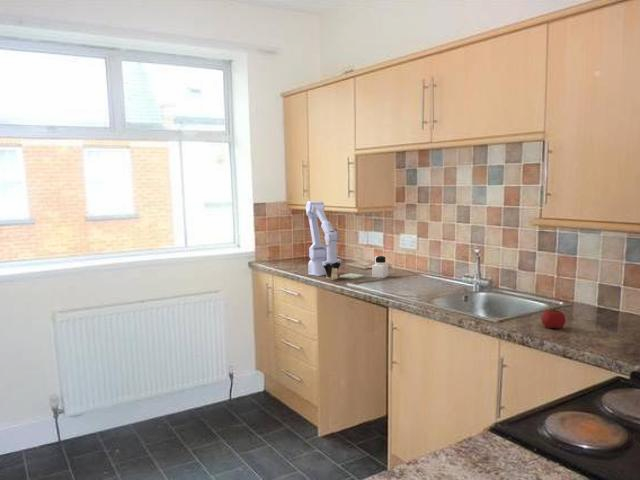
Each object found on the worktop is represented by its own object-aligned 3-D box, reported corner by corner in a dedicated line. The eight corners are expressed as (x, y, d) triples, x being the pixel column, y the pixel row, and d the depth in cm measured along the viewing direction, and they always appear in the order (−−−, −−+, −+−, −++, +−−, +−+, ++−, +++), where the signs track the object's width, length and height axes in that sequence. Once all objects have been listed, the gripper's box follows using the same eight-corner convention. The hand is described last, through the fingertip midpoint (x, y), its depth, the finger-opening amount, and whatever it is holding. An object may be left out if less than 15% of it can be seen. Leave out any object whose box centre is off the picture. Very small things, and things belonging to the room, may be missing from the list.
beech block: (326, 278, 286) (326, 268, 285) (331, 277, 289) (331, 267, 289) (332, 279, 283) (332, 269, 282) (337, 278, 286) (337, 268, 286)
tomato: (548, 323, 191) (549, 305, 190) (569, 328, 185) (570, 309, 184) (536, 327, 186) (537, 308, 185) (557, 332, 180) (558, 312, 179)
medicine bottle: (388, 276, 292) (388, 255, 290) (383, 278, 286) (383, 257, 284) (377, 275, 295) (377, 255, 294) (371, 277, 289) (371, 256, 288)
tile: (339, 276, 291) (339, 275, 291) (350, 274, 299) (350, 273, 299) (353, 278, 285) (353, 277, 285) (363, 276, 292) (363, 275, 292)
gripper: (328, 254, 277) (328, 279, 278) (345, 251, 287) (345, 275, 289) (319, 253, 281) (319, 277, 283) (335, 251, 292) (336, 273, 294)
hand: (332, 276), depth 286 cm, fingers closed on beech block, 4 cm apart
